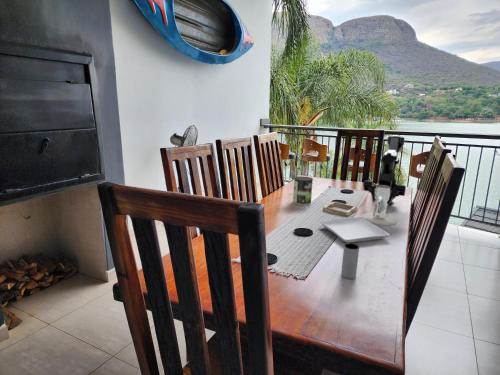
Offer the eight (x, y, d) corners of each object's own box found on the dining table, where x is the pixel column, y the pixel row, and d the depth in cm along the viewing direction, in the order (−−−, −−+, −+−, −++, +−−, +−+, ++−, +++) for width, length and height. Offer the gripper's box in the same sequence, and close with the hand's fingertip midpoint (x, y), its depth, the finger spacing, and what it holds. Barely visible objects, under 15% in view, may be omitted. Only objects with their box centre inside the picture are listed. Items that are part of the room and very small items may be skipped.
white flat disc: (368, 211, 163) (368, 210, 163) (400, 218, 153) (401, 217, 153) (356, 219, 151) (356, 218, 151) (391, 227, 141) (391, 226, 141)
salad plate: (344, 247, 122) (345, 239, 121) (318, 227, 142) (319, 220, 141) (390, 242, 127) (391, 234, 126) (359, 223, 147) (360, 216, 146)
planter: (339, 272, 103) (341, 243, 100) (352, 271, 103) (355, 242, 100) (344, 279, 98) (347, 249, 96) (358, 279, 99) (361, 249, 96)
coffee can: (315, 203, 176) (316, 178, 173) (303, 206, 170) (304, 181, 166) (300, 198, 184) (302, 175, 180) (288, 202, 177) (290, 177, 174)
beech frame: (333, 205, 173) (333, 201, 173) (356, 210, 165) (357, 206, 165) (322, 210, 163) (323, 207, 163) (347, 216, 155) (347, 212, 155)
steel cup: (390, 217, 151) (394, 187, 146) (379, 219, 148) (384, 189, 144) (378, 212, 157) (383, 183, 152) (368, 214, 154) (372, 185, 150)
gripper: (366, 164, 154) (359, 191, 147) (408, 168, 145) (403, 197, 138) (367, 177, 162) (360, 202, 156) (407, 181, 153) (402, 209, 147)
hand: (380, 202), depth 149 cm, fingers closed on steel cup, 7 cm apart
